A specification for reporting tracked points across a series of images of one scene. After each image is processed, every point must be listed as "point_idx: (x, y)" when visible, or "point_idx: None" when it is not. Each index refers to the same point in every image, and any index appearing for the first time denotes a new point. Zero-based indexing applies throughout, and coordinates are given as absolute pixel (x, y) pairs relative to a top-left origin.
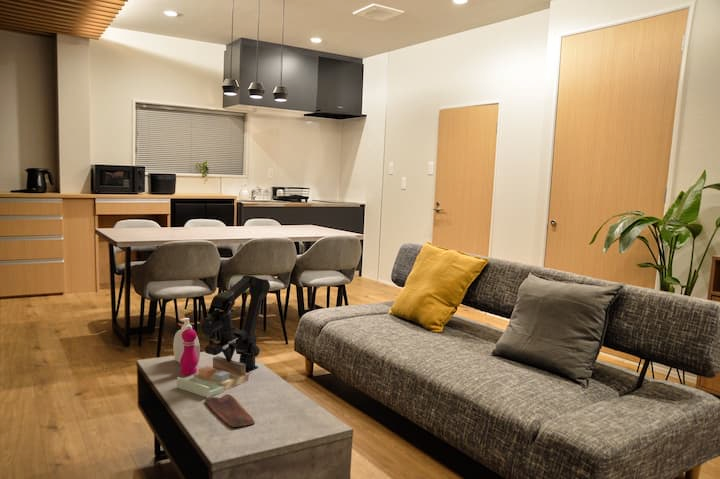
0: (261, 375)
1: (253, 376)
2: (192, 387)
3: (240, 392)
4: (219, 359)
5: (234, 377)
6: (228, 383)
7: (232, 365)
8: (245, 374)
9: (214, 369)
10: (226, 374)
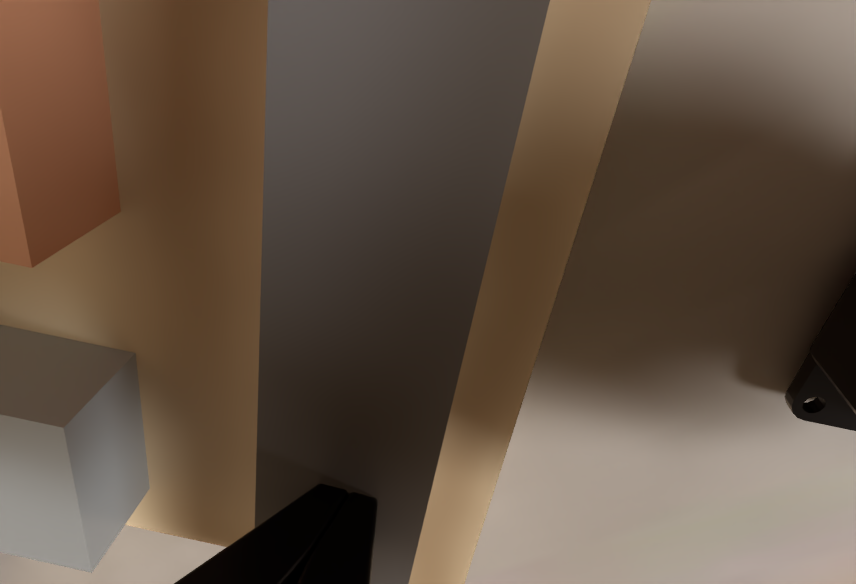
0: (717, 557)
1: (645, 500)
2: None
3: (161, 555)
4: (264, 238)
5: (235, 514)
6: None
7: None
8: (416, 578)
9: (21, 253)
10: (25, 549)
